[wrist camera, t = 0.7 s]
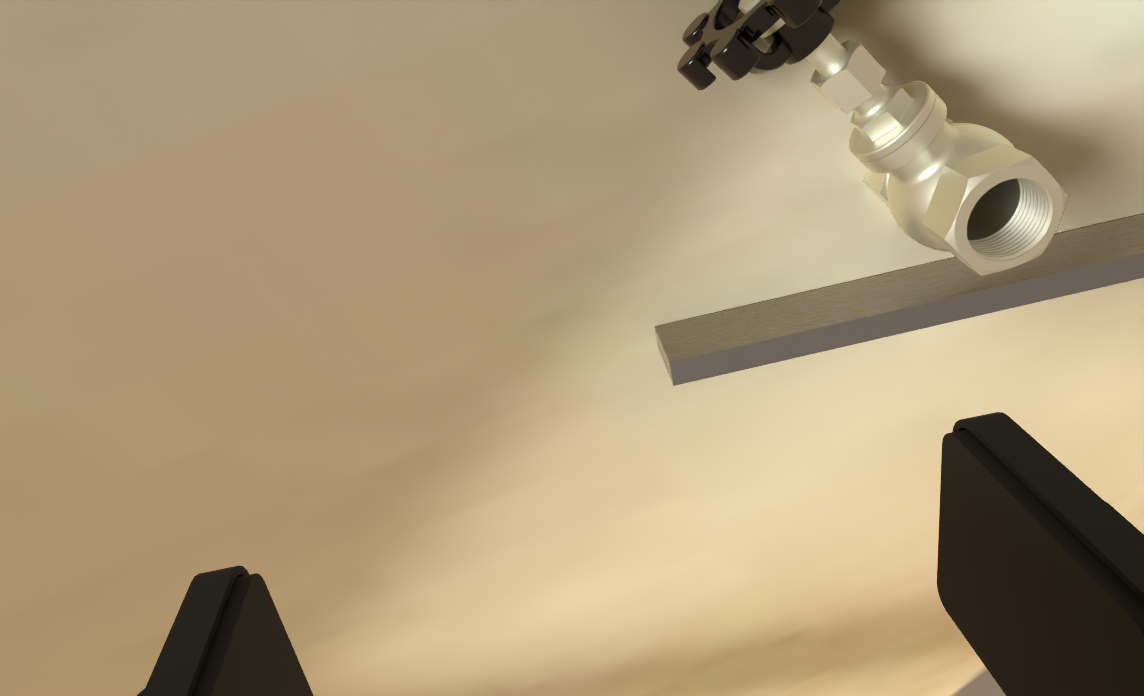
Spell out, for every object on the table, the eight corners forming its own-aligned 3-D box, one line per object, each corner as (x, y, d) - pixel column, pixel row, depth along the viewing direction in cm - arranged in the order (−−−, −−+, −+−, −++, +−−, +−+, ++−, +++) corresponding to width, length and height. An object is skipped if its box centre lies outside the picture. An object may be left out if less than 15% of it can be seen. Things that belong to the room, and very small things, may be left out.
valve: (1015, 129, 31) (798, -115, 27) (1137, 179, 25) (885, -123, 21) (879, 261, 33) (657, 53, 29) (963, 335, 27) (700, 89, 23)
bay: (1479, -352, 25) (1596, -384, 23) (1356, 187, 33) (1431, 211, 31) (569, -132, 26) (578, -138, 23) (658, 348, 34) (673, 385, 31)
